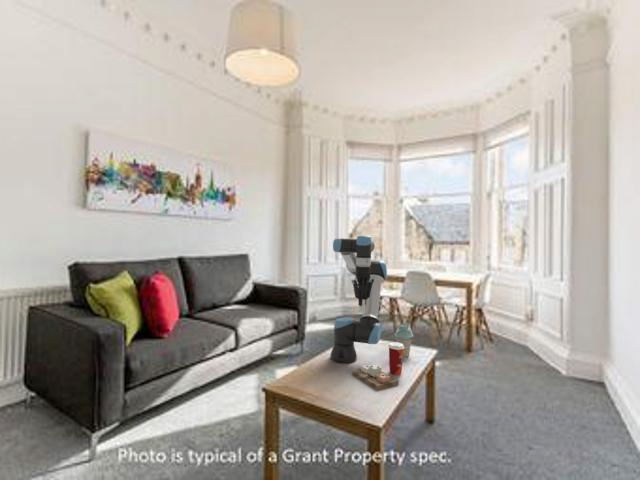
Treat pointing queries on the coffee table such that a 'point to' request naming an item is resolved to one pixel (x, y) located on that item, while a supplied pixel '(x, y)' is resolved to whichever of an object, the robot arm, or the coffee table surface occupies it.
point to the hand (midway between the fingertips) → (362, 311)
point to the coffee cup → (395, 357)
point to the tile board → (374, 380)
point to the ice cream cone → (404, 337)
